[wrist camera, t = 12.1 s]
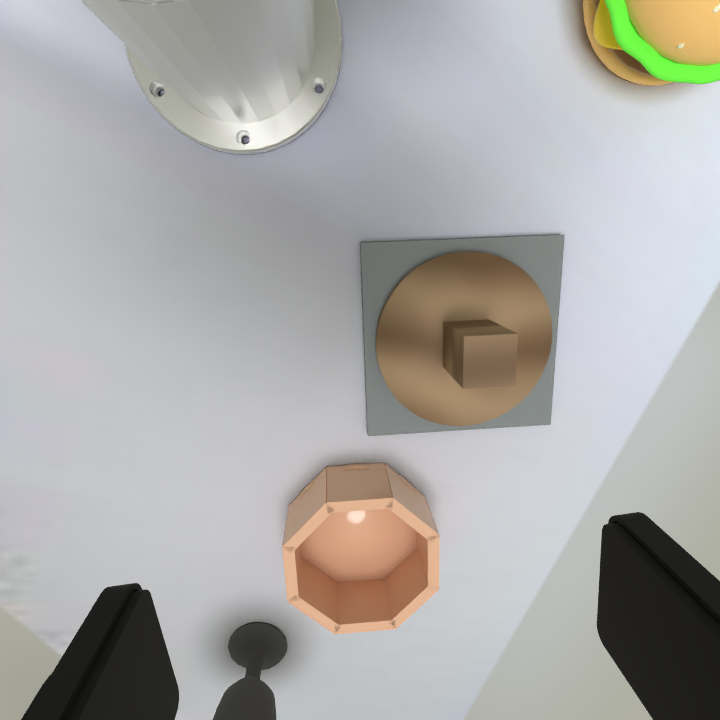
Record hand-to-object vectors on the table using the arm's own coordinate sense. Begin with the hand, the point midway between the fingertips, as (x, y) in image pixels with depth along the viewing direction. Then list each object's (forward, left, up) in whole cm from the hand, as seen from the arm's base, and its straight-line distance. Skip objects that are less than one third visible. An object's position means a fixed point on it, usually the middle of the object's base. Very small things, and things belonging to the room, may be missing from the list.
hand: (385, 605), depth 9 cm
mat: (0, +8, -24) cm, 26 cm away
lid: (0, +8, -24) cm, 25 cm away
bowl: (+15, 0, -24) cm, 28 cm away
